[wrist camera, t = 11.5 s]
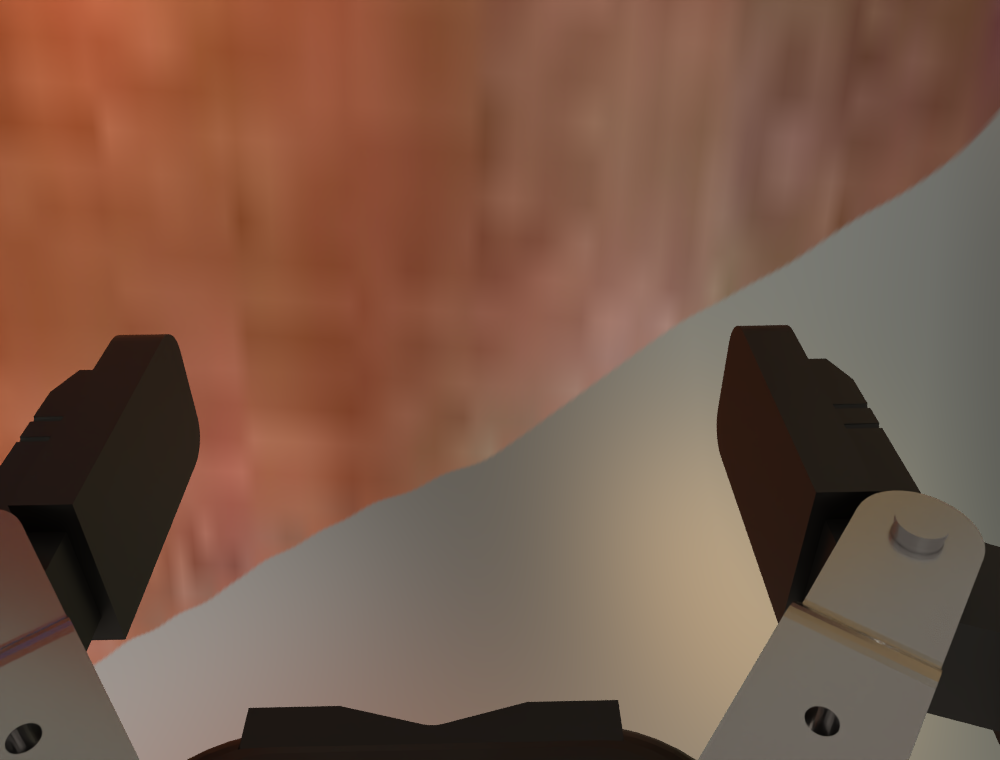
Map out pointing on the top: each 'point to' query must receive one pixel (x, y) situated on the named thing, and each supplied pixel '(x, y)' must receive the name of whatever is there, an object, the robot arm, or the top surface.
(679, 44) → the top surface
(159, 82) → the top surface
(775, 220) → the top surface
